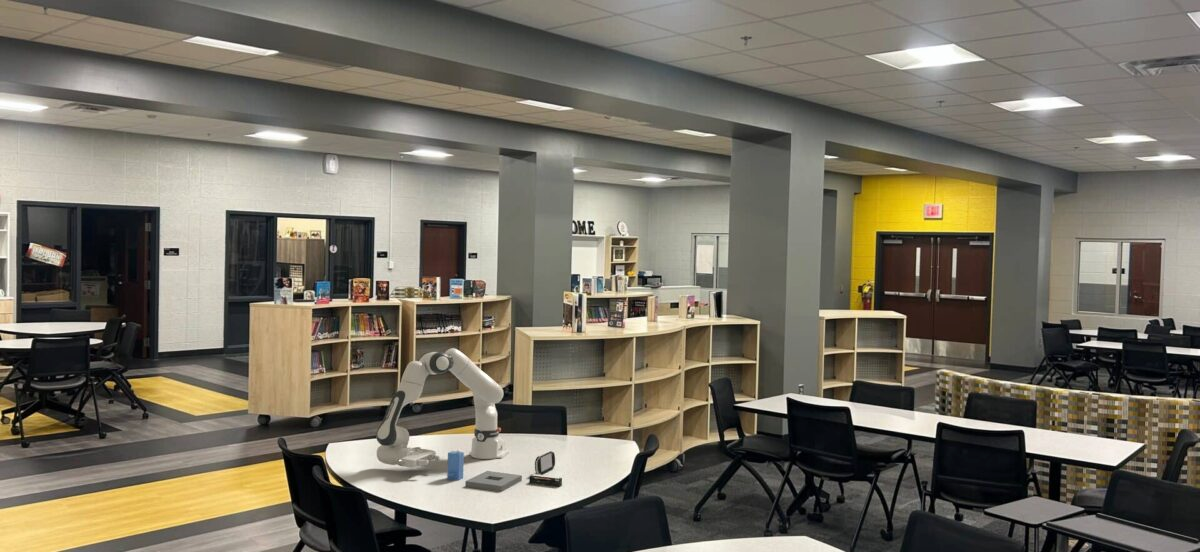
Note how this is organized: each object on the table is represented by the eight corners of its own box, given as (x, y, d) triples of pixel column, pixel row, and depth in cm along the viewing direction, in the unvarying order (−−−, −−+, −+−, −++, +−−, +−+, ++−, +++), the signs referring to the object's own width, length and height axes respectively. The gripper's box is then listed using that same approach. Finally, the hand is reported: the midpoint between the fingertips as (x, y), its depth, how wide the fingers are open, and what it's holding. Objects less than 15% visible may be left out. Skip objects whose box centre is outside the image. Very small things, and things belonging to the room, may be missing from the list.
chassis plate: (486, 476, 386) (486, 470, 386) (521, 480, 380) (521, 475, 380) (465, 486, 368) (465, 481, 368) (501, 491, 361) (501, 486, 361)
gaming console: (534, 476, 388) (538, 476, 387) (532, 457, 388) (537, 457, 388) (552, 467, 406) (556, 468, 405) (550, 449, 406) (555, 449, 405)
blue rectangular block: (455, 475, 387) (455, 447, 386) (466, 476, 385) (467, 448, 384) (443, 480, 377) (444, 451, 377) (455, 481, 375) (456, 452, 375)
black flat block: (529, 479, 385) (530, 470, 385) (580, 485, 377) (580, 476, 377) (516, 487, 371) (517, 478, 371) (568, 494, 363) (569, 484, 363)
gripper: (395, 455, 380) (421, 458, 375) (420, 446, 399) (445, 449, 394) (395, 469, 380) (421, 472, 375) (419, 459, 399) (444, 462, 394)
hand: (433, 460), depth 385 cm, fingers open, 8 cm apart
